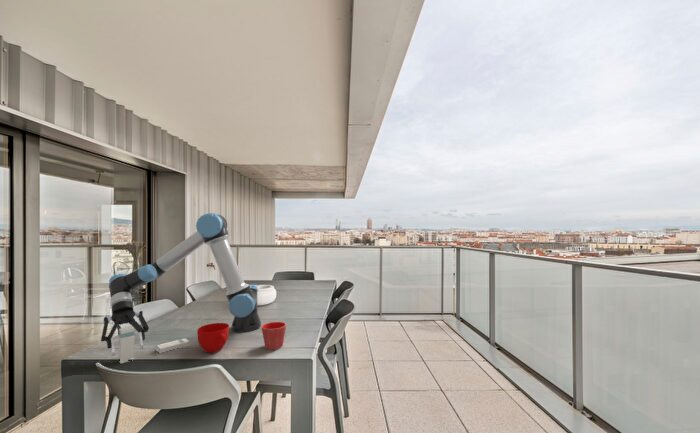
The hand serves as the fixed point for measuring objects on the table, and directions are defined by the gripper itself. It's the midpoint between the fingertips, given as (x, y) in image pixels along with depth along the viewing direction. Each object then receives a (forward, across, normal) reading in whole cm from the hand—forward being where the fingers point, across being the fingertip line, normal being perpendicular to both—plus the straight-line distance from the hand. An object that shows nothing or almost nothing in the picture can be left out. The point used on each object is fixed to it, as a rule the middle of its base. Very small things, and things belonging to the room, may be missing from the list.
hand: (127, 350), depth 122 cm
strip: (+1, -17, -6) cm, 18 cm away
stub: (+1, 0, -6) cm, 6 cm away
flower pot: (+25, -50, +18) cm, 58 cm away
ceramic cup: (+14, -29, +7) cm, 33 cm away
